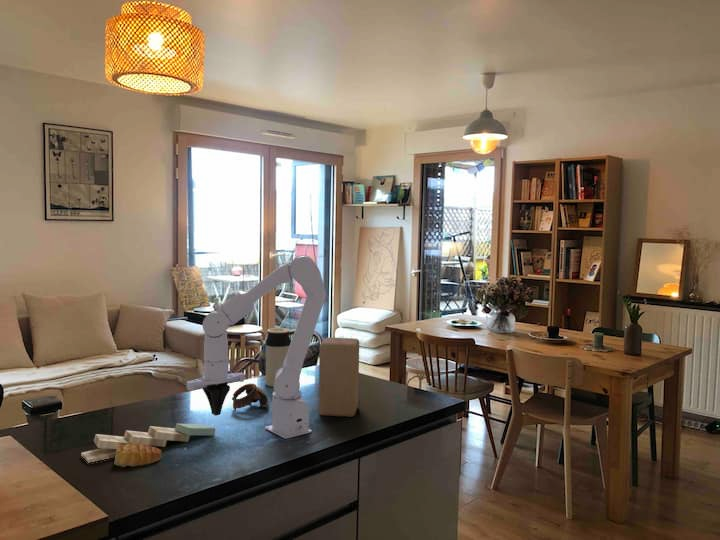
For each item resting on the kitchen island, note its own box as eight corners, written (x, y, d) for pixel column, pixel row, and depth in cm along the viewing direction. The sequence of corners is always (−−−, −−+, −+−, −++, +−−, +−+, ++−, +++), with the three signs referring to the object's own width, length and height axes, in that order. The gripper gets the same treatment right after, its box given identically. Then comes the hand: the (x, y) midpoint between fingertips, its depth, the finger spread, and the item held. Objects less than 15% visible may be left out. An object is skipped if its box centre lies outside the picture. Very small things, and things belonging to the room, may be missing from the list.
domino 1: (126, 450, 129) (88, 459, 124) (126, 458, 129) (88, 467, 124) (118, 444, 133) (81, 452, 128) (118, 451, 133) (81, 459, 128)
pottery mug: (272, 415, 160) (258, 392, 157) (241, 430, 160) (226, 407, 157) (271, 392, 171) (258, 370, 168) (242, 406, 171) (228, 384, 168)
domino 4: (189, 435, 138) (158, 431, 133) (188, 441, 138) (155, 439, 133) (181, 429, 142) (149, 426, 137) (179, 435, 142) (147, 432, 137)
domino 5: (215, 428, 143) (189, 428, 136) (214, 435, 142) (187, 435, 136) (202, 424, 146) (176, 423, 139) (200, 430, 145) (174, 430, 139)
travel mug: (267, 388, 185) (267, 332, 184) (264, 382, 193) (264, 328, 192) (292, 387, 188) (292, 331, 186) (288, 380, 195) (289, 327, 194)
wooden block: (358, 407, 168) (359, 338, 166) (354, 418, 158) (356, 344, 157) (323, 405, 169) (324, 336, 167) (317, 416, 159) (319, 343, 158)
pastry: (161, 453, 131) (161, 437, 131) (161, 465, 124) (161, 448, 124) (116, 458, 128) (116, 441, 128) (113, 470, 122) (113, 452, 121)
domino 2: (137, 443, 131) (100, 440, 126) (135, 451, 131) (97, 447, 126) (131, 437, 135) (95, 434, 131) (130, 444, 135) (93, 441, 130)
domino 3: (167, 439, 135) (133, 436, 130) (164, 446, 135) (130, 443, 130) (159, 433, 139) (125, 430, 134) (157, 440, 138) (123, 437, 133)
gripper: (234, 353, 152) (234, 404, 153) (181, 361, 142) (181, 415, 143) (248, 358, 147) (248, 411, 148) (193, 366, 137) (194, 423, 138)
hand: (216, 414), depth 145 cm, fingers closed
